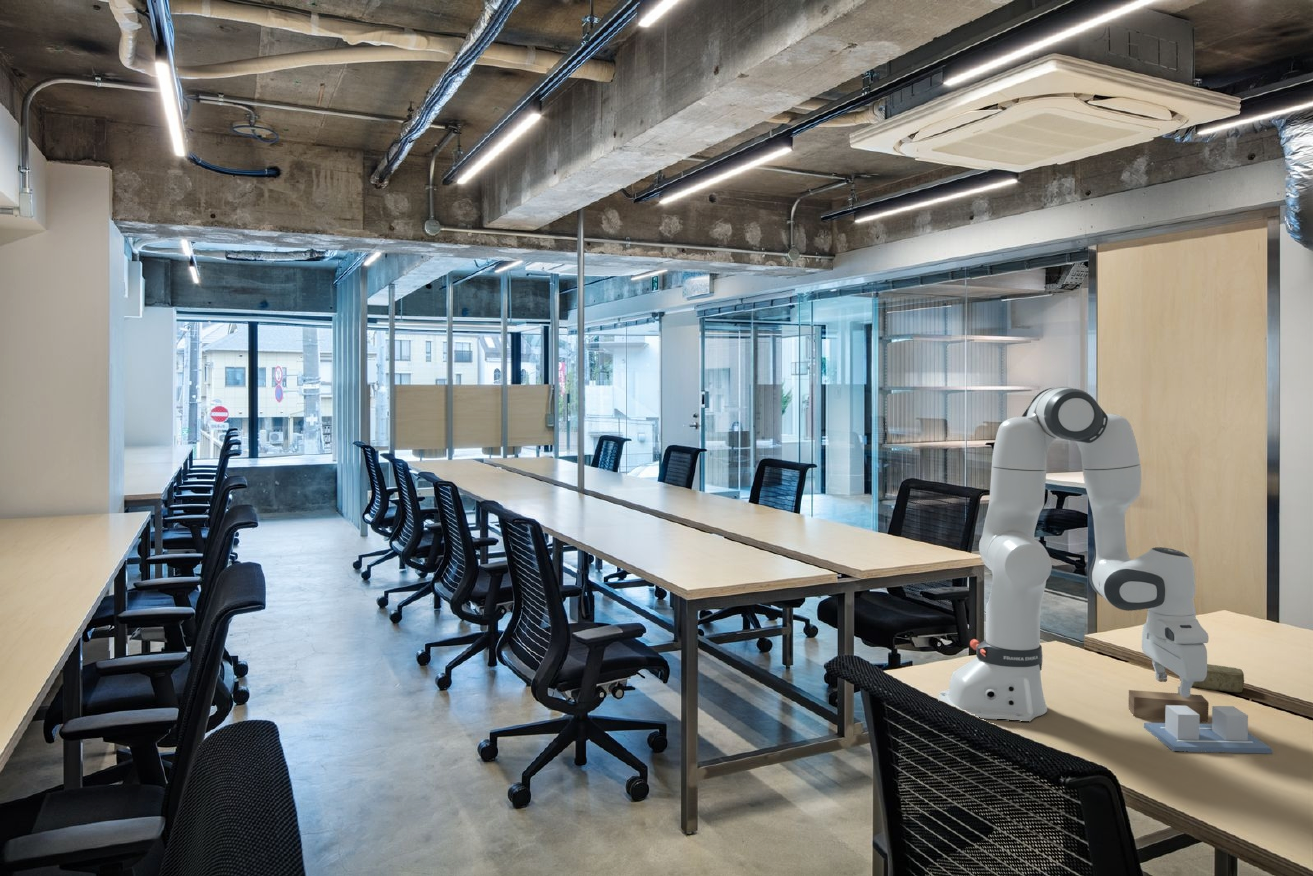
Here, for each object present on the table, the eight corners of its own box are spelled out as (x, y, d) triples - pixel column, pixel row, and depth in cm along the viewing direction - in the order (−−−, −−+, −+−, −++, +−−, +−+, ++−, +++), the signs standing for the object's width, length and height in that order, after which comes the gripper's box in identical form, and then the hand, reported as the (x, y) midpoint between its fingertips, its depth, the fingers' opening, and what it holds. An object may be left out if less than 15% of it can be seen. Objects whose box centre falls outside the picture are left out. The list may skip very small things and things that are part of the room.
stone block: (1244, 695, 198) (1245, 674, 198) (1185, 687, 204) (1185, 666, 204) (1242, 688, 203) (1243, 666, 203) (1185, 680, 209) (1185, 660, 209)
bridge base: (1173, 751, 169) (1174, 721, 168) (1143, 727, 180) (1144, 699, 180) (1271, 753, 167) (1272, 722, 167) (1235, 729, 179) (1236, 700, 179)
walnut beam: (1133, 717, 187) (1134, 697, 186) (1128, 710, 191) (1128, 690, 191) (1208, 723, 183) (1208, 702, 183) (1201, 715, 187) (1201, 695, 187)
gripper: (1133, 612, 196) (1134, 672, 197) (1180, 638, 176) (1181, 705, 177) (1162, 611, 196) (1163, 672, 196) (1213, 637, 175) (1214, 705, 176)
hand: (1172, 688), depth 186 cm, fingers open, 8 cm apart
